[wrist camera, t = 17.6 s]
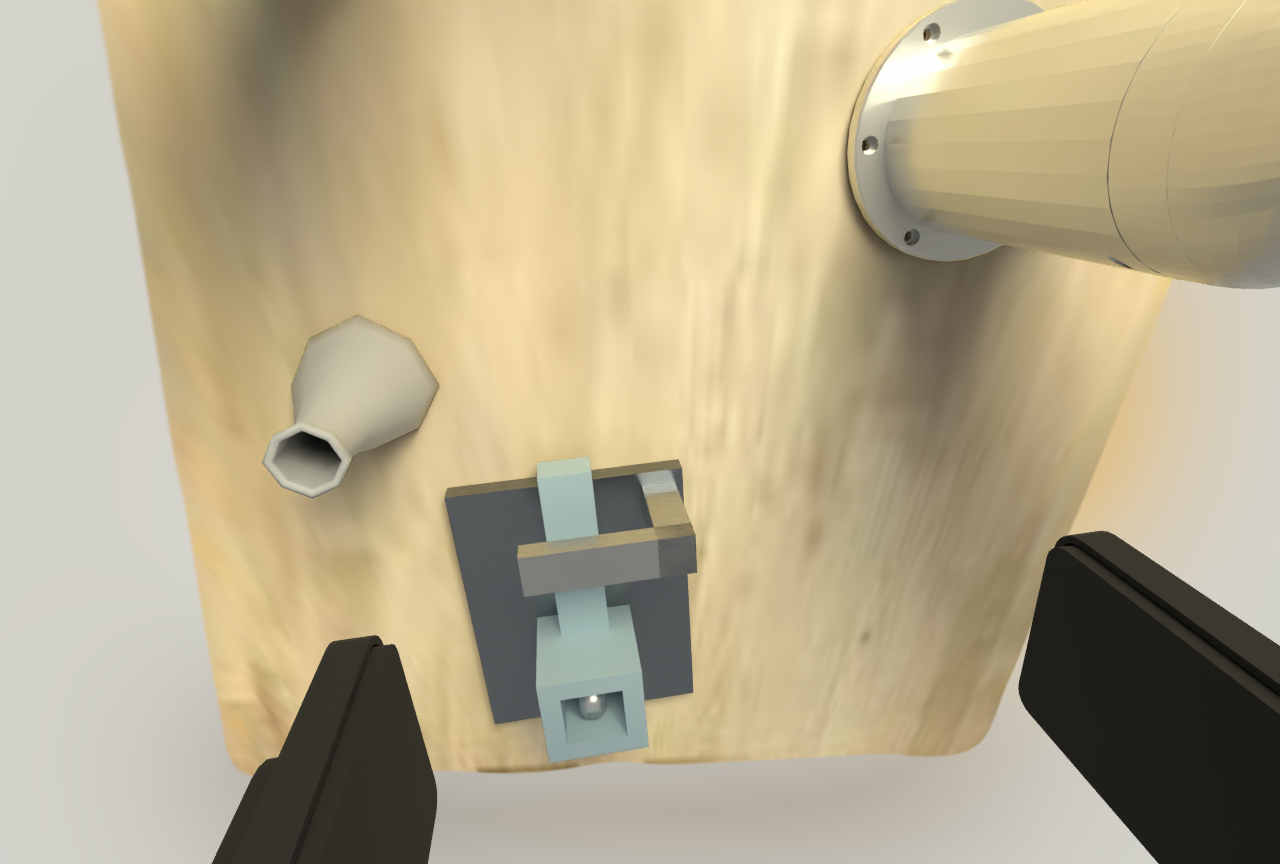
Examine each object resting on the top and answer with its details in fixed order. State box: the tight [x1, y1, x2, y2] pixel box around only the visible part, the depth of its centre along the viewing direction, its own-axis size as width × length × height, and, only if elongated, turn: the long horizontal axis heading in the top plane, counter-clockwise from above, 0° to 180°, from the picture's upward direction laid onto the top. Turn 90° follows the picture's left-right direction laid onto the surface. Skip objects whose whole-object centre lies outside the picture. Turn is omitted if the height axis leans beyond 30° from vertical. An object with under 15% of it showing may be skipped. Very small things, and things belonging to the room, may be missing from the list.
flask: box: [262, 315, 439, 498], centre depth 31 cm, size 7×7×10 cm
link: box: [536, 457, 649, 763], centre depth 38 cm, size 17×6×6 cm, turn 4°
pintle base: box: [445, 460, 697, 724], centre depth 40 cm, size 14×18×7 cm
